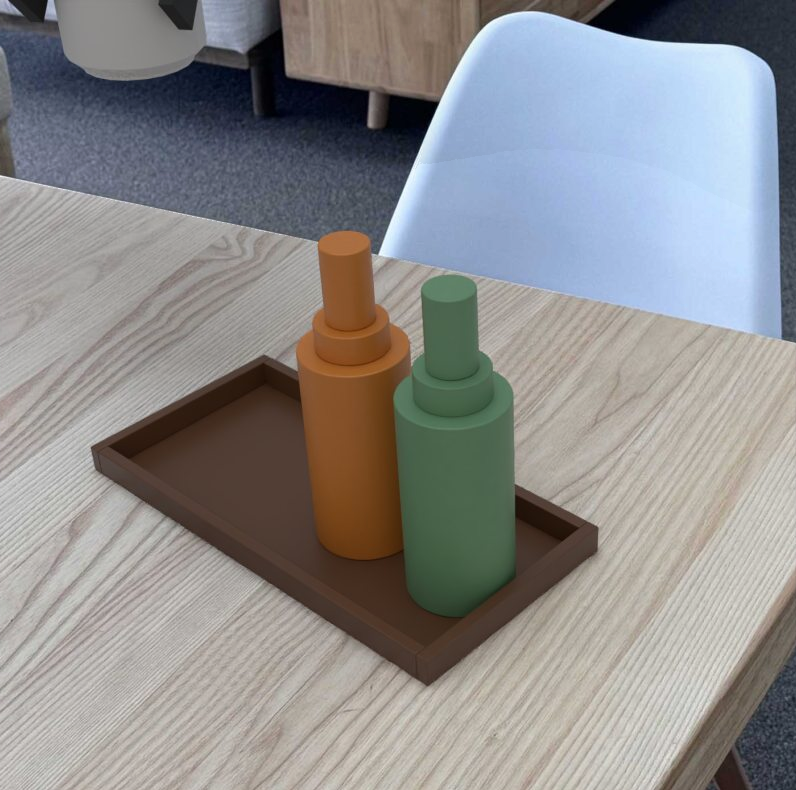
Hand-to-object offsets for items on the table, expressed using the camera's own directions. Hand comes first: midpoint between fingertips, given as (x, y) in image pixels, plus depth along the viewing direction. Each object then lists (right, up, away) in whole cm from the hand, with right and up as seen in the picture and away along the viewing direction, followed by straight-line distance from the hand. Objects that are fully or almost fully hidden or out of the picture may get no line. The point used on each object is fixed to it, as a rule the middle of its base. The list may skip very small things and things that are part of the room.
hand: (99, 13), depth 70 cm
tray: (+11, -26, +4) cm, 28 cm away
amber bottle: (+13, -26, +2) cm, 29 cm away
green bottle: (+18, -28, -2) cm, 34 cm away
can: (+1, -1, +5) cm, 5 cm away
